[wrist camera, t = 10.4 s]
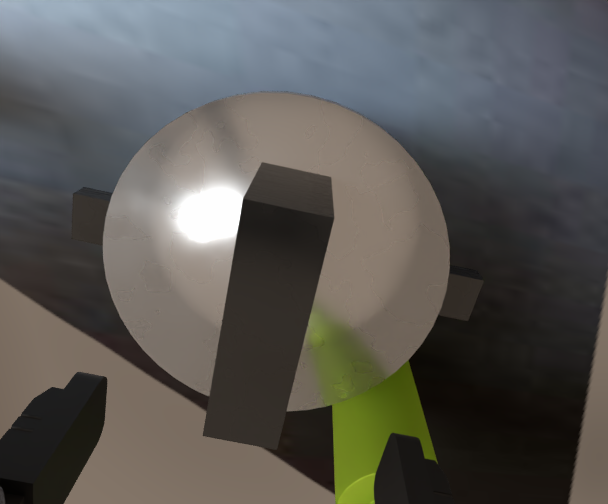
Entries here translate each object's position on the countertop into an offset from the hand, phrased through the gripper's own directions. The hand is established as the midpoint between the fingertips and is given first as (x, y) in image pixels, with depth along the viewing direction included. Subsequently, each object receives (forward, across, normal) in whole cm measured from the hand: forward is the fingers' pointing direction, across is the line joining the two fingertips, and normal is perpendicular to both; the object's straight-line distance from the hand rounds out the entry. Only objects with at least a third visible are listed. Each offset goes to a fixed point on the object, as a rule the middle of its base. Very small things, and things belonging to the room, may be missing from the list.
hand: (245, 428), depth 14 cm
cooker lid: (+11, 0, 0) cm, 11 cm away
